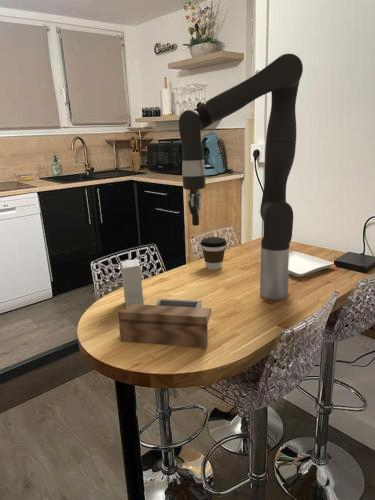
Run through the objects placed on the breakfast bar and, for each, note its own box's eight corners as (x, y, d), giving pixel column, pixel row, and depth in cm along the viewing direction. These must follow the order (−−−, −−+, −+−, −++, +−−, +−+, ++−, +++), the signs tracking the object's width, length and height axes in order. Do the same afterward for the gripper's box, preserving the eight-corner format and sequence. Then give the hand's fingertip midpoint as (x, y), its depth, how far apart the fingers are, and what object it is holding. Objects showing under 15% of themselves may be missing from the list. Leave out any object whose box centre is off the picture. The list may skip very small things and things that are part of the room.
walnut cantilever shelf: (211, 330, 110) (211, 301, 107) (207, 348, 101) (206, 317, 98) (131, 325, 114) (129, 297, 112) (120, 341, 106) (117, 312, 103)
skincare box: (144, 309, 125) (141, 266, 121) (125, 311, 124) (122, 268, 120) (141, 298, 133) (138, 258, 129) (124, 301, 132) (120, 260, 127)
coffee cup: (213, 273, 154) (213, 245, 151) (195, 267, 162) (194, 240, 159) (232, 267, 161) (232, 239, 158) (213, 261, 169) (213, 235, 166)
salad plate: (334, 269, 156) (335, 261, 155) (300, 282, 144) (300, 273, 143) (293, 257, 172) (293, 250, 171) (259, 267, 161) (259, 259, 160)
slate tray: (201, 309, 123) (201, 300, 122) (191, 337, 106) (190, 328, 106) (159, 307, 126) (159, 298, 125) (143, 334, 109) (142, 324, 108)
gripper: (202, 176, 120) (204, 229, 125) (207, 171, 132) (208, 220, 137) (178, 176, 121) (181, 229, 126) (185, 172, 134) (188, 220, 139)
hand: (195, 225), depth 132 cm, fingers closed
